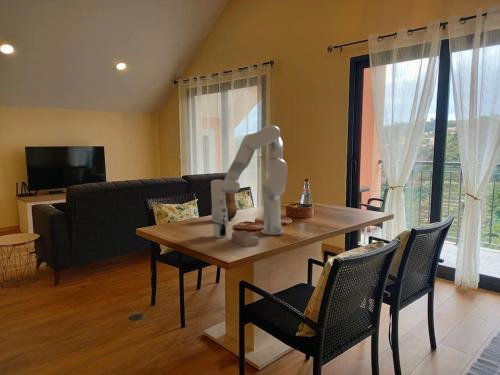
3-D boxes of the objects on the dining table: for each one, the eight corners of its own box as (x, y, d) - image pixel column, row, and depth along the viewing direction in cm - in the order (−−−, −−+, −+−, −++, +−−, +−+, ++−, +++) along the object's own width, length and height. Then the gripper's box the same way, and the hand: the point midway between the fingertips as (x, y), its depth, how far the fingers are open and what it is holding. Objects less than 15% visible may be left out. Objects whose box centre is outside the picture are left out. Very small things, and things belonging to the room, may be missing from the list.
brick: (259, 245, 188) (259, 236, 188) (245, 247, 185) (244, 238, 184) (245, 238, 203) (245, 230, 203) (231, 240, 199) (231, 232, 199)
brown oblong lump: (213, 219, 253) (212, 183, 250) (229, 217, 261) (228, 181, 258) (224, 223, 242) (223, 184, 239) (241, 220, 250) (240, 182, 247)
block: (226, 236, 206) (226, 223, 205) (218, 237, 203) (218, 225, 202) (221, 234, 210) (221, 222, 209) (214, 236, 207) (213, 223, 206)
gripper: (233, 203, 200) (234, 236, 202) (216, 199, 213) (217, 231, 216) (221, 205, 195) (222, 238, 198) (204, 201, 209) (206, 233, 211)
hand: (220, 234), depth 207 cm, fingers closed on block, 5 cm apart
